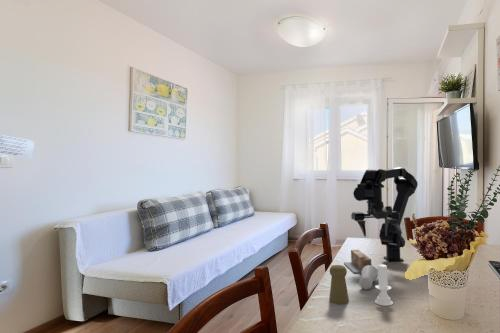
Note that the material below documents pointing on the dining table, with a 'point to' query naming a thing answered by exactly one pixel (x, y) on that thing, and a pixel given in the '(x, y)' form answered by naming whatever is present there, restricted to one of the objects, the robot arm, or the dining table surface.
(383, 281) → the candle
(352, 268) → the rest mat
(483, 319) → the dining table surface
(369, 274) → the salt shaker
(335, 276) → the pepper shaker
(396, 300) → the dining table surface
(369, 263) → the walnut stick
